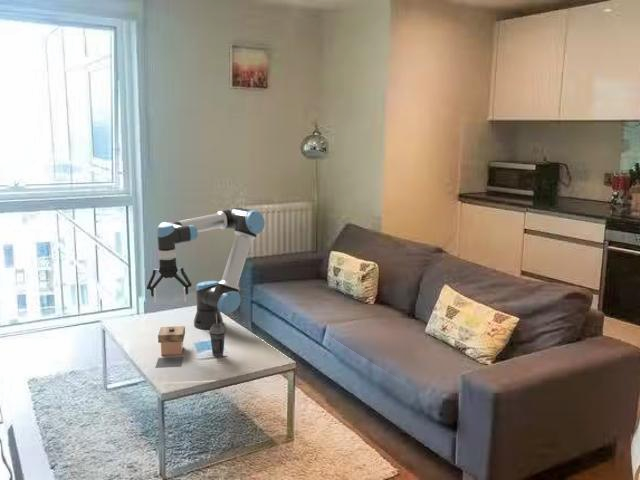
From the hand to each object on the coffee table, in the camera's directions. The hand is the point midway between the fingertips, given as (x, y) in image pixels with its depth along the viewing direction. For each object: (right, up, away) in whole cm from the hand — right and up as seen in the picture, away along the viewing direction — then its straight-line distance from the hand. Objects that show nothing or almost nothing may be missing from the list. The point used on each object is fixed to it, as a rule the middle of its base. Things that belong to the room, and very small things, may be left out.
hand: (170, 302), depth 276 cm
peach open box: (+2, -23, -3) cm, 23 cm away
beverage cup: (+23, -24, -6) cm, 34 cm away
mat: (+3, -26, -15) cm, 30 cm away
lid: (+2, -16, -4) cm, 17 cm away
